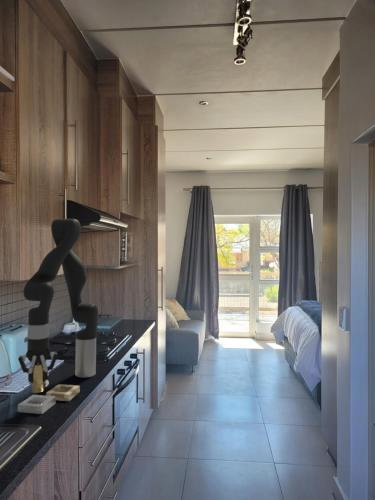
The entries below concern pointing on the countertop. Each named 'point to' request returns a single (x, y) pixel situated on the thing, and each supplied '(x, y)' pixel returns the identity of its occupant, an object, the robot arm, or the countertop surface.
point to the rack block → (64, 392)
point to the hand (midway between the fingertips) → (38, 381)
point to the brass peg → (37, 378)
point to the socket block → (37, 404)
